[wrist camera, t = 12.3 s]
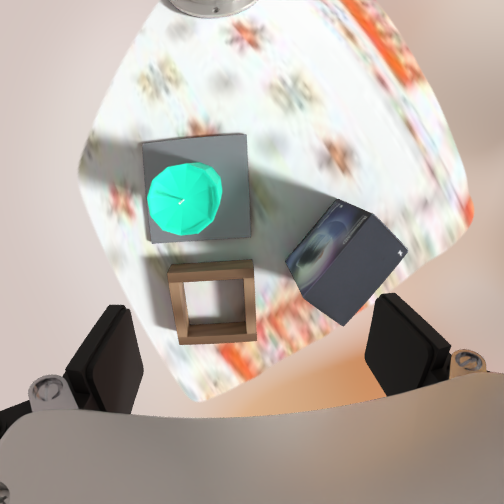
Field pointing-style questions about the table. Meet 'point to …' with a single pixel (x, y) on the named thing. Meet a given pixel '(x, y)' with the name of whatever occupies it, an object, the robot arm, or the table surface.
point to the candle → (185, 198)
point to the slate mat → (227, 167)
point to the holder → (209, 273)
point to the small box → (344, 260)
